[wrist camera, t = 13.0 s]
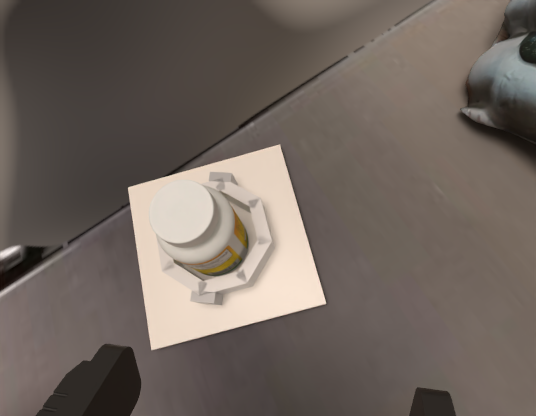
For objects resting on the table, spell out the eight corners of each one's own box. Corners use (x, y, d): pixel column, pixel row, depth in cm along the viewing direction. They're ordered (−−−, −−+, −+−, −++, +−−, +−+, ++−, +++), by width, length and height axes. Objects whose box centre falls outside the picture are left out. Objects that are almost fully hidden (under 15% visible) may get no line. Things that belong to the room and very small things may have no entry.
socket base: (280, 149, 35) (277, 130, 32) (325, 304, 31) (327, 301, 27) (133, 191, 35) (114, 177, 32) (156, 349, 31) (137, 352, 28)
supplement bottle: (232, 287, 31) (199, 271, 22) (174, 261, 32) (119, 235, 23) (260, 226, 32) (239, 187, 23) (204, 203, 33) (162, 156, 24)
